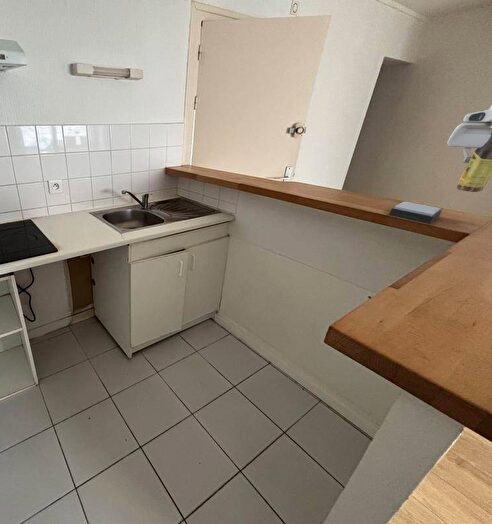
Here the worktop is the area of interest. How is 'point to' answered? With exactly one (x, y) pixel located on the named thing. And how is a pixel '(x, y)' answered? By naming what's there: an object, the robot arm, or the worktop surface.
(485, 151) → the sauce bottle
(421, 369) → the worktop surface
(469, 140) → the robot arm
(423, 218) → the kitchen scale
